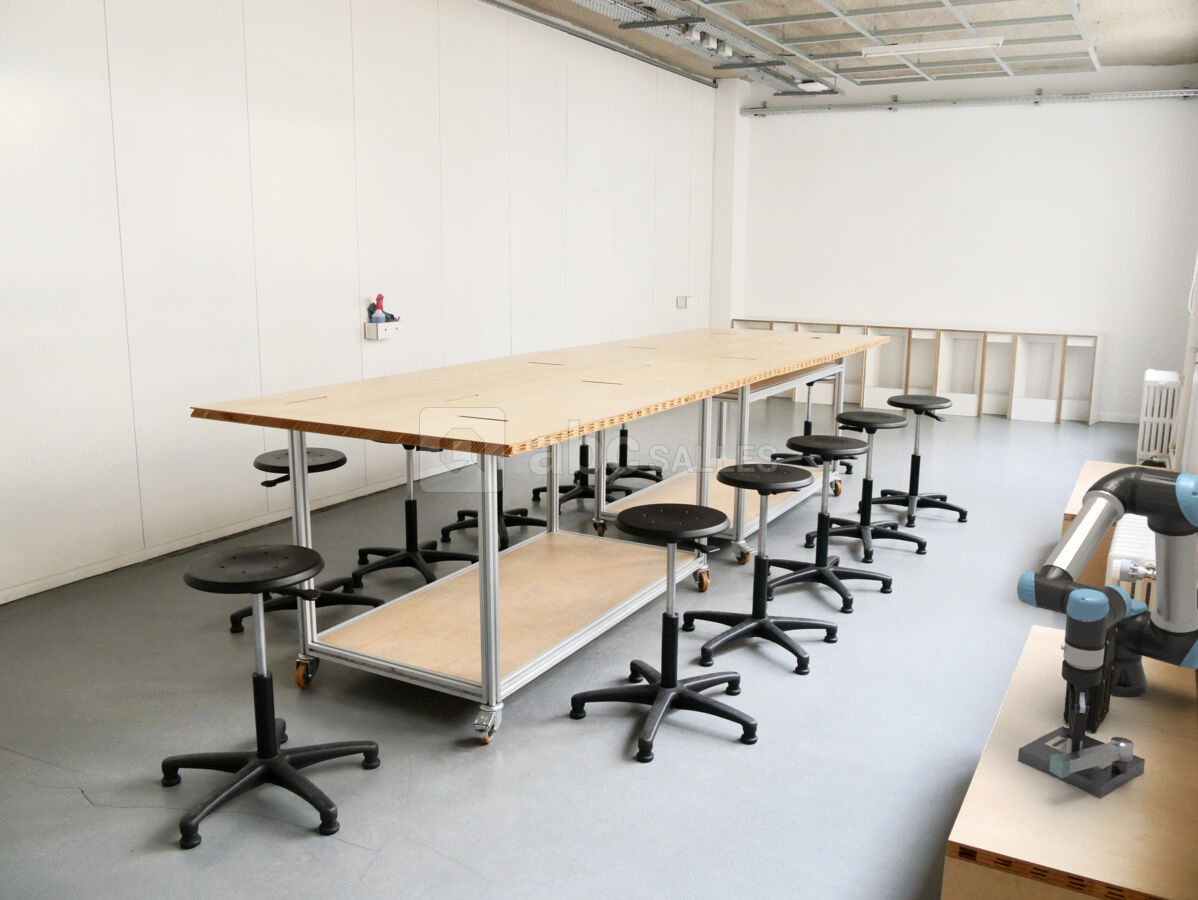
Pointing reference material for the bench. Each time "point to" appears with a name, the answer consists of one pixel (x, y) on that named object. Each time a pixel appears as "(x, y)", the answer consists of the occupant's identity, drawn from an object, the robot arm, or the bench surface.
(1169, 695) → the bench surface
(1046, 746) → the grey slotted box
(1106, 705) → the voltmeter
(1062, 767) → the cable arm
